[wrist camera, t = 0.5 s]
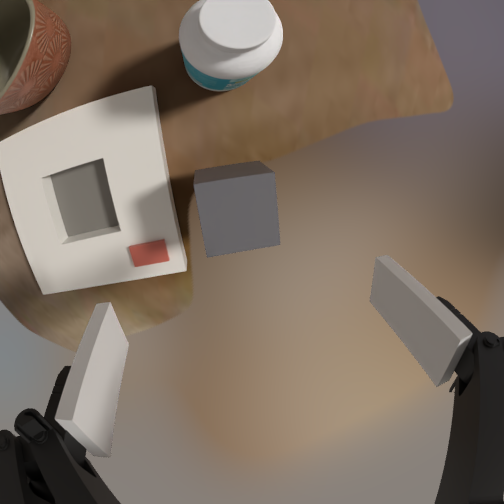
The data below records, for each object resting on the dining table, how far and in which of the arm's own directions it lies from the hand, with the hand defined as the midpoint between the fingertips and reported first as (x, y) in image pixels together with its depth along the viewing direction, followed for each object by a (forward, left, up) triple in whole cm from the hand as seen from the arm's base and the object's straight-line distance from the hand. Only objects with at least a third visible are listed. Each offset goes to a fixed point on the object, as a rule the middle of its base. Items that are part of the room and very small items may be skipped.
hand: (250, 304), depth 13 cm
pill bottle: (-15, +2, -20) cm, 25 cm away
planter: (-21, -19, -20) cm, 35 cm away
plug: (-1, +1, -20) cm, 20 cm away
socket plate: (-3, -15, -20) cm, 25 cm away
